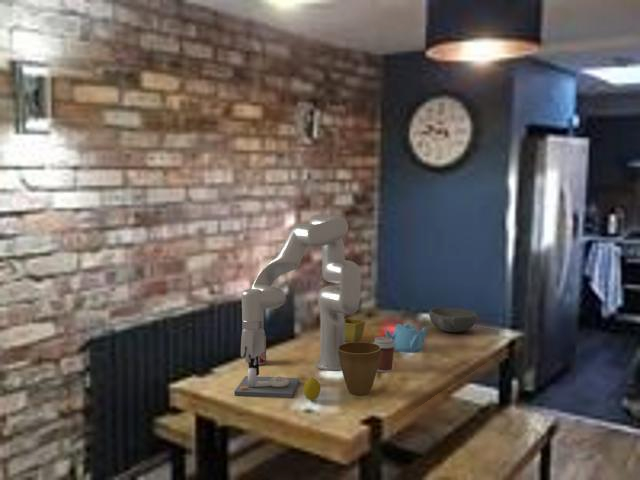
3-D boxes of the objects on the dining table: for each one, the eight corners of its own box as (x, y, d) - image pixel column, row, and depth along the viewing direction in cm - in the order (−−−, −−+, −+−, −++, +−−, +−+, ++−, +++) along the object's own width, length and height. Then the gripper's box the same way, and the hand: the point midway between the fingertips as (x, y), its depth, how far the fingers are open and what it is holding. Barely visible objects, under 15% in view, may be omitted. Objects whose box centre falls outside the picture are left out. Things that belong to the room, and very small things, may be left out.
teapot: (429, 346, 298) (429, 322, 297) (418, 355, 284) (418, 329, 283) (395, 342, 305) (396, 318, 303) (383, 350, 291) (384, 325, 290)
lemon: (303, 398, 232) (303, 375, 231) (319, 397, 233) (319, 375, 232) (304, 404, 227) (304, 380, 226) (320, 403, 227) (320, 380, 226)
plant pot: (356, 382, 249) (356, 339, 248) (388, 391, 239) (389, 347, 237) (328, 392, 239) (328, 347, 237) (361, 402, 228) (361, 355, 227)
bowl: (481, 337, 313) (482, 316, 312) (432, 337, 313) (432, 316, 312) (471, 325, 336) (472, 305, 334) (425, 325, 336) (425, 305, 335)
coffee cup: (400, 369, 265) (400, 339, 263) (385, 374, 258) (385, 343, 257) (382, 364, 271) (382, 334, 270) (366, 369, 265) (367, 339, 263)
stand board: (299, 382, 249) (299, 375, 249) (292, 398, 233) (292, 391, 232) (245, 379, 252) (245, 373, 251) (234, 395, 235) (234, 388, 235)
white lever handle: (287, 380, 246) (287, 364, 245) (290, 386, 239) (290, 369, 238) (246, 382, 243) (246, 366, 242) (248, 389, 236) (248, 372, 235)
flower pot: (365, 340, 308) (365, 320, 307) (355, 344, 301) (356, 324, 300) (348, 337, 313) (348, 318, 312) (338, 341, 306) (338, 321, 304)
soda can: (263, 366, 268) (263, 334, 267) (245, 365, 270) (245, 333, 268) (268, 361, 275) (268, 329, 274) (251, 360, 276) (250, 328, 275)
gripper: (252, 318, 249) (253, 367, 251) (233, 328, 235) (234, 380, 238) (271, 320, 246) (272, 370, 249) (253, 330, 233) (254, 382, 235)
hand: (254, 374), depth 243 cm, fingers closed
